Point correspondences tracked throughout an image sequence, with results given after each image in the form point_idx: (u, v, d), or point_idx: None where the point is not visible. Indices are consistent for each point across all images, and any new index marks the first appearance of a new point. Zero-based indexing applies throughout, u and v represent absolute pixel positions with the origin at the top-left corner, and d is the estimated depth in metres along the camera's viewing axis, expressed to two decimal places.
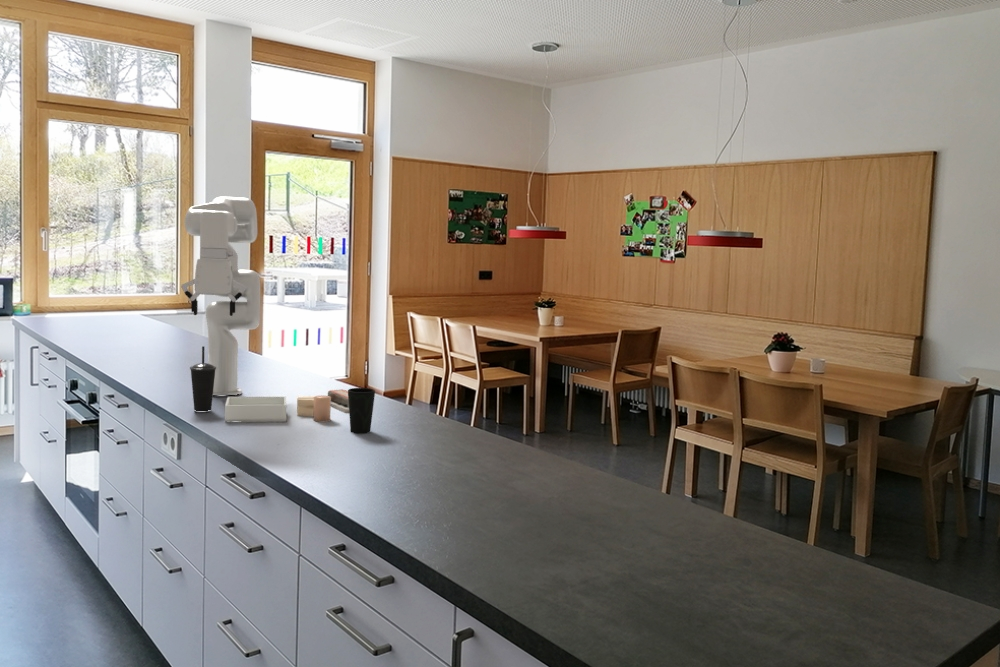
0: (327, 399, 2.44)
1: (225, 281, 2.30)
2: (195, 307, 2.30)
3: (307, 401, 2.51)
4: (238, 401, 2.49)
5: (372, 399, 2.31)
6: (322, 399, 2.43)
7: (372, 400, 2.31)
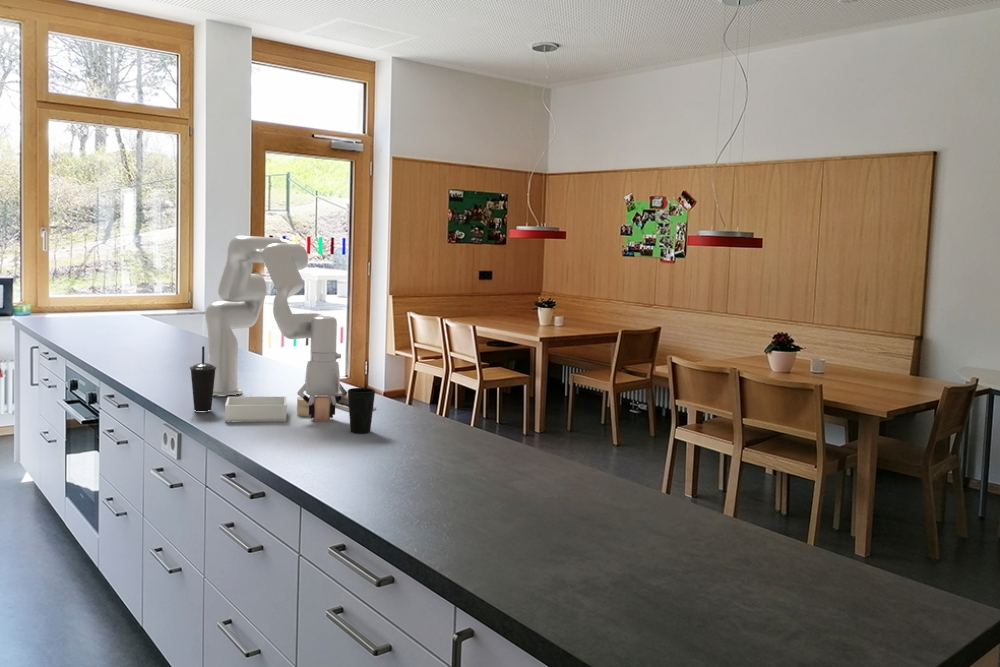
0: (327, 399, 2.44)
1: (334, 383, 2.43)
2: (313, 411, 2.43)
3: None
4: (238, 401, 2.49)
5: (372, 399, 2.31)
6: (322, 399, 2.43)
7: (372, 400, 2.31)
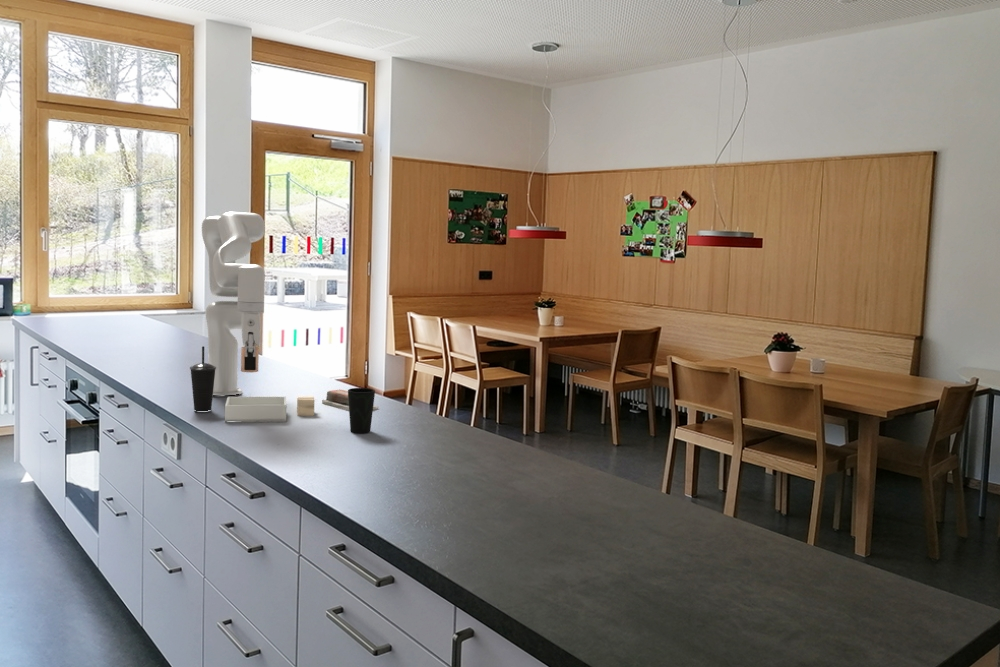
0: (242, 349, 2.40)
1: (242, 333, 2.38)
2: None
3: (307, 401, 2.51)
4: (238, 401, 2.49)
5: (372, 399, 2.31)
6: (241, 348, 2.42)
7: (372, 400, 2.31)
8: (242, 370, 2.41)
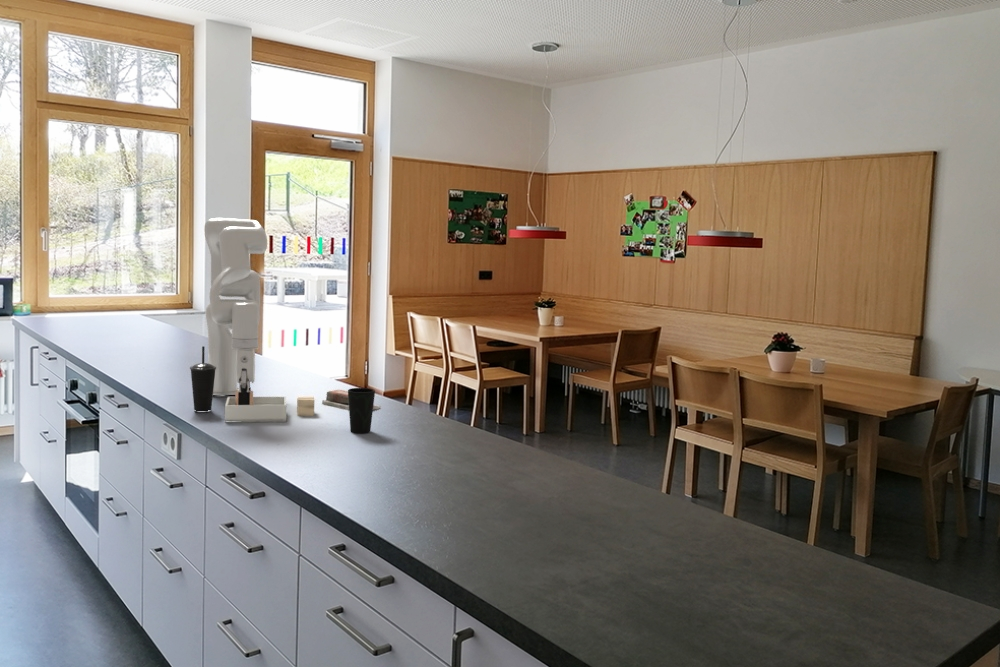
0: (237, 393, 2.42)
1: (236, 369, 2.39)
2: None
3: (307, 401, 2.51)
4: None
5: (372, 399, 2.31)
6: None
7: (372, 400, 2.31)
8: None
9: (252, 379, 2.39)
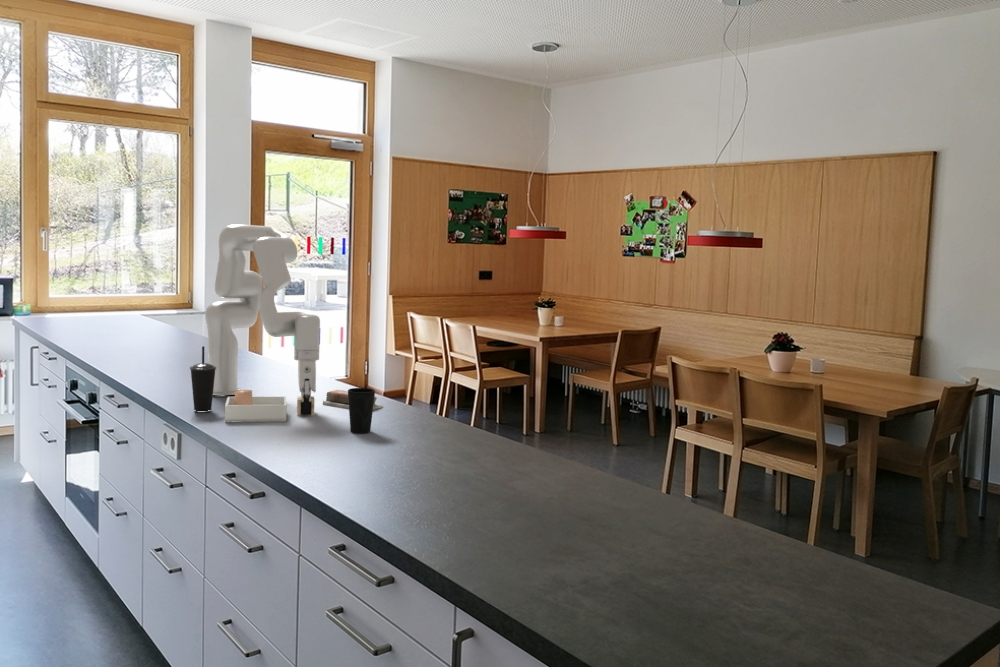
0: (236, 393, 2.42)
1: (299, 379, 2.48)
2: None
3: None
4: None
5: (372, 399, 2.31)
6: None
7: (372, 400, 2.31)
8: None
9: (314, 389, 2.48)
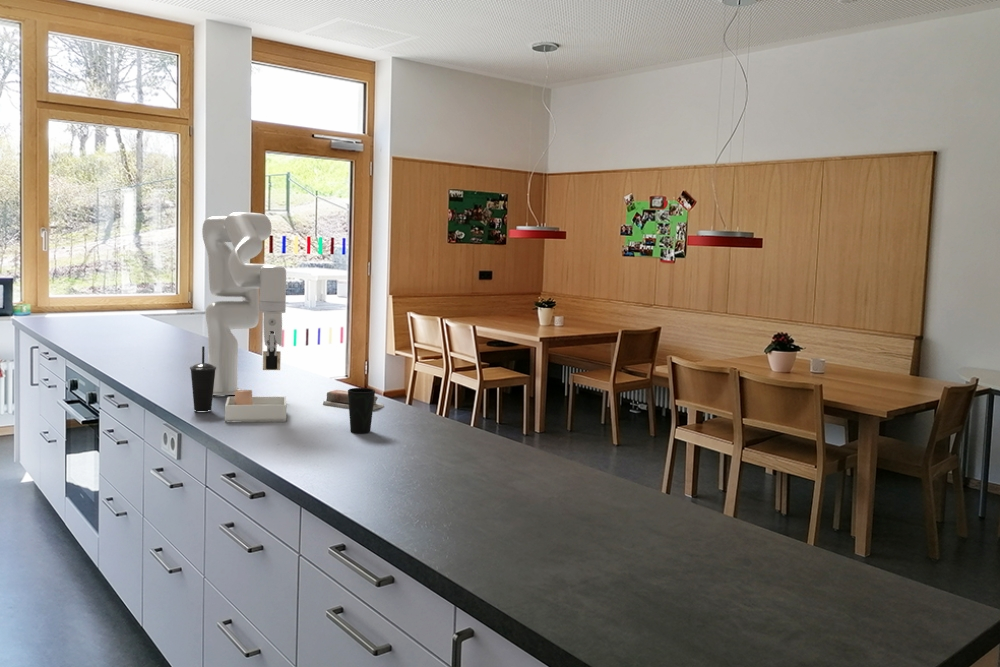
0: (237, 393, 2.42)
1: (264, 332, 2.40)
2: None
3: None
4: None
5: (372, 399, 2.31)
6: None
7: (372, 400, 2.31)
8: None
9: (280, 342, 2.40)
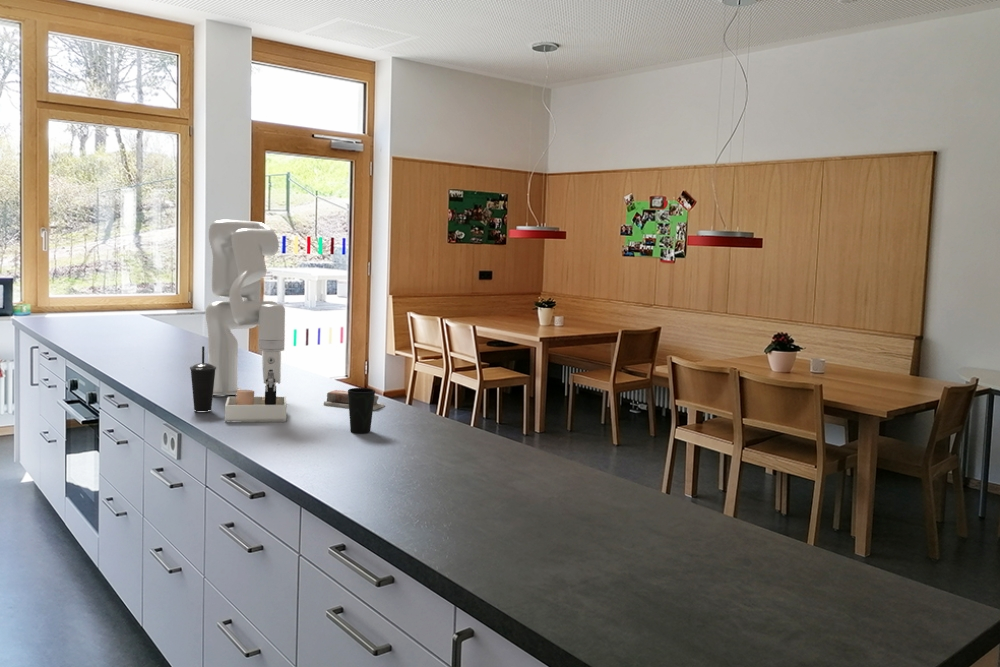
0: (240, 393, 2.42)
1: (263, 371, 2.41)
2: None
3: None
4: None
5: (372, 399, 2.31)
6: (237, 392, 2.42)
7: (372, 400, 2.31)
8: None
9: (279, 380, 2.41)
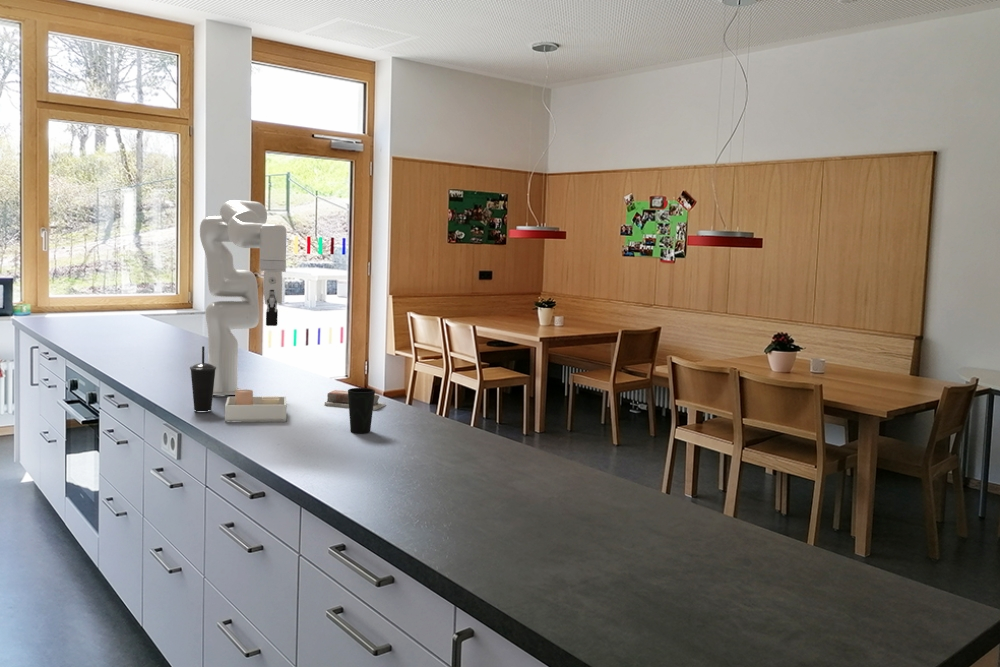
0: (240, 394, 2.41)
1: (264, 291, 2.38)
2: None
3: (271, 401, 2.43)
4: None
5: (372, 399, 2.31)
6: (236, 393, 2.42)
7: (372, 400, 2.31)
8: None
9: (280, 301, 2.38)
